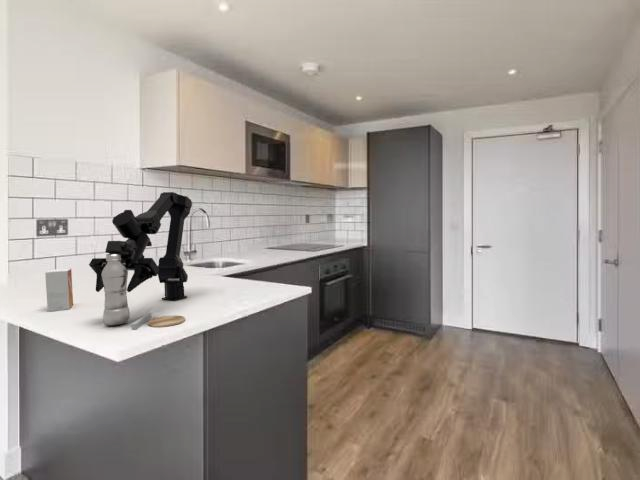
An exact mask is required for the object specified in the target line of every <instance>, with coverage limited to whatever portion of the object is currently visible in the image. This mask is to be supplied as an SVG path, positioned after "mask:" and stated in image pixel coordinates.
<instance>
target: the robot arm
mask: <svg viewBox="0 0 640 480" xmlns="http://www.w3.org/2000/svg"><path fill="white" fill-rule="evenodd" d="M192 207H193V201H192V199H191V198H189V196H187V195H186V196H185V195H182V194H178V193H177V192H174V191H167V192H166V191H163V192H161V193H160V194H159V197H158V198H157V199H156V201H155V202H154V203H153V204H152V205H151V206H150V208H149V209H148V210H147V211H145V212H141V213H139V214H137V216H135V214H134V212H133V211H132V209H124V211H122V212H120V213H118V214H117V215H116V216H113V218H112V220H111V221H112V225H113V226H114V227H115V228H116V230H117V232H118V233H119V235H120V236H121V237H123V238H124V239H126V240H125V241H124V240H108V241H107V243H106V247H105V253H106V254H121V258H122V260H121V263H122V264H123V265H124V266H125V267H126V269H127V271H128V272H129V271H133V275H132V276H131V278H130V281H129V282H128V285H127V290H126V292H127V293H130V292H131V291H133V290H134V289H136V288H137V287H138V286H139V285H141V284H143V283H144V282H146V281H148V280H149V279H152V278H153V277H157V276H158V280H159V283H160V284H164V297H162V298H161V300H163V301H164V300H166V301H176V300H182V299H186V298H188V295H185V286H184V283H187V282H188V279H189V277H188V276H189V275H188V273H187V272H186V270H185V268H184V262H183V261H182V258H181V249H182V241H183V233H184V227H185V220H186V219H187V218H188V216H190V212H191V208H192ZM167 212H168V214H169V216H170V222H169V228H168V229H169V230H168V236H167V244H166V249H165V254H164V255H163V256H160V257H159V259H158V264H157V263H156V262H155V260H154V259H153V257H145V255H144V252H145V250H146V249H147V247H152V246H153V245H152V244H153V243H152V241H151V239H150V237H149V235H156V234H158V232H159V230H160V228H161V226H162V223H161V220H162V218H163V217H164V216H165V215H166V214H167ZM106 264H107V261H106V257H98V258H97V257H96V258H92V259H91V260H90V262H89V264H88V265H89V267H90V268H91V269H92V270H93V271H94V272H95V274H96V282H95V283H96V284H95V291H96V292H97V293H99V292H100V291H101V290H102V289H104V285H103V280H102V270H103V269H104V267H105V266H106Z"/></svg>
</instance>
